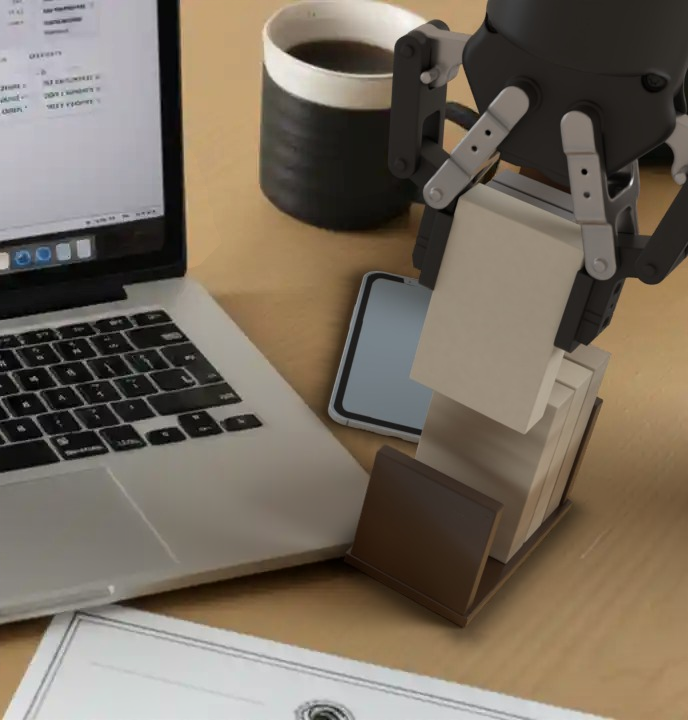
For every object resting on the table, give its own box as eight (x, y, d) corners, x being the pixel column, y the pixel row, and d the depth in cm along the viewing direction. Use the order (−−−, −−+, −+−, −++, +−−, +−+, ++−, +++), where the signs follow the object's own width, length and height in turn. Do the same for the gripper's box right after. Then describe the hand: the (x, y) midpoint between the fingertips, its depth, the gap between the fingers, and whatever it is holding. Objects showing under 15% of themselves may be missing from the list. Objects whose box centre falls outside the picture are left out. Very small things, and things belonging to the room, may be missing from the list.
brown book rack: (569, 509, 80) (627, 348, 75) (464, 628, 73) (519, 459, 67) (455, 452, 83) (502, 293, 78) (342, 561, 76) (386, 393, 70)
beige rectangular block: (542, 417, 70) (605, 234, 65) (524, 435, 69) (586, 251, 64) (428, 361, 72) (478, 181, 67) (408, 378, 71) (458, 196, 66)
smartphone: (325, 415, 84) (365, 267, 96) (322, 428, 85) (362, 279, 97) (470, 450, 83) (492, 295, 95) (466, 463, 84) (489, 308, 95)
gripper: (861, -49, 57) (702, 349, 67) (488, -165, 64) (393, 212, 74) (789, 8, 52) (629, 428, 62) (393, -125, 59) (305, 274, 69)
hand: (501, 309), depth 68 cm, fingers closed on beige rectangular block, 5 cm apart
